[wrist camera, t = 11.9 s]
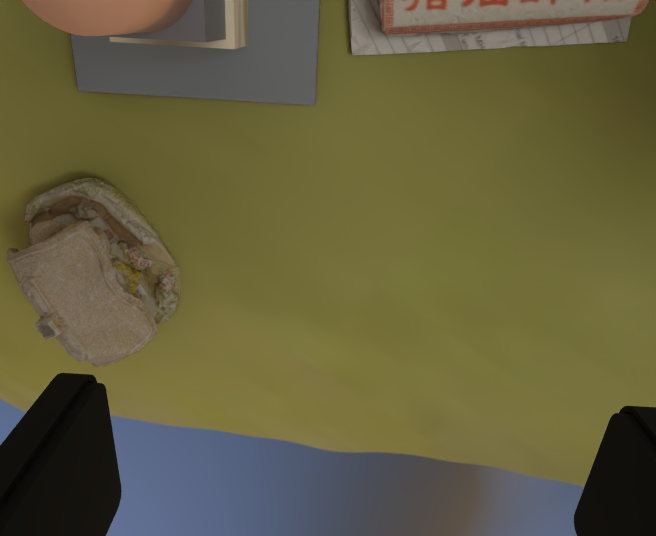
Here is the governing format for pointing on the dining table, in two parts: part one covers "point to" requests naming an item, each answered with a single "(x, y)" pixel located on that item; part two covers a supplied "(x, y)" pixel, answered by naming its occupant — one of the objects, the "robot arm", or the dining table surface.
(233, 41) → the birch block
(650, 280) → the dining table surface
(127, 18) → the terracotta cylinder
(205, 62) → the slate mat
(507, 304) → the dining table surface
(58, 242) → the stuffed bread roll
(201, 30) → the charcoal block
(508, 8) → the packaged product
